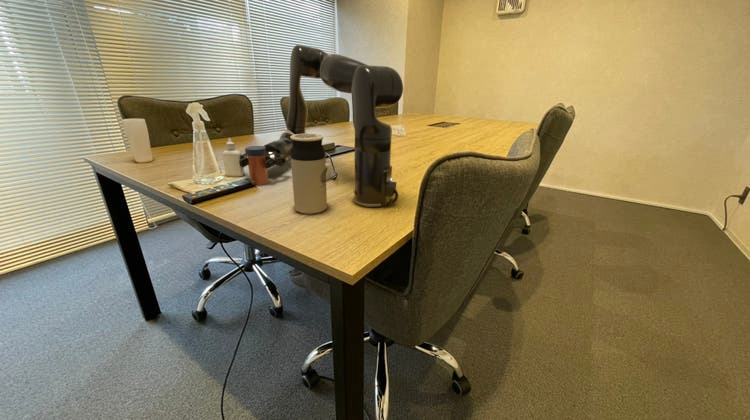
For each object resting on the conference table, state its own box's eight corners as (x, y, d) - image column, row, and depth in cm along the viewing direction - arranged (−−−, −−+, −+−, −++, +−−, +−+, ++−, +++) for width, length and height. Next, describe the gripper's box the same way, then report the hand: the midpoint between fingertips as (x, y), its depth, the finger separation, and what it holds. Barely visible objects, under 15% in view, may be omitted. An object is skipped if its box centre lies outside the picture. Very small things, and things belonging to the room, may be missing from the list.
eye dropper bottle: (235, 178, 97) (229, 140, 92) (223, 175, 100) (217, 138, 95) (246, 175, 101) (241, 138, 96) (235, 172, 103) (229, 136, 98)
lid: (270, 152, 92) (269, 146, 91) (258, 156, 87) (257, 150, 86) (253, 150, 93) (253, 145, 93) (241, 154, 88) (240, 148, 88)
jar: (271, 181, 96) (268, 148, 91) (262, 186, 91) (257, 151, 87) (257, 179, 97) (253, 146, 93) (247, 184, 92) (242, 150, 88)
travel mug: (288, 211, 74) (281, 137, 67) (306, 200, 81) (302, 132, 74) (316, 217, 72) (312, 140, 65) (332, 205, 79) (330, 135, 71)
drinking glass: (128, 162, 110) (115, 120, 104) (144, 158, 116) (133, 118, 110) (144, 164, 109) (133, 121, 103) (160, 159, 115) (149, 118, 109)
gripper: (254, 140, 103) (228, 150, 88) (295, 142, 102) (275, 153, 87) (257, 162, 106) (232, 175, 91) (297, 164, 105) (278, 178, 90)
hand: (253, 164), depth 89 cm, fingers open, 7 cm apart
